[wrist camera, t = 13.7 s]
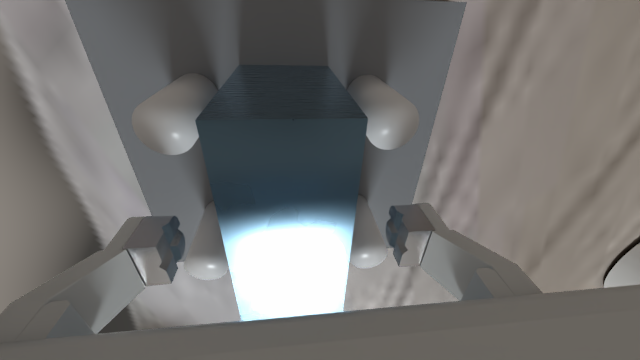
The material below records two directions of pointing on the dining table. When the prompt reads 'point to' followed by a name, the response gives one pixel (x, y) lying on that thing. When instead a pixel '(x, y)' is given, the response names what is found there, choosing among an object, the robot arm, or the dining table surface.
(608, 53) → the dining table surface
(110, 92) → the pin tray
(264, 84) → the block
